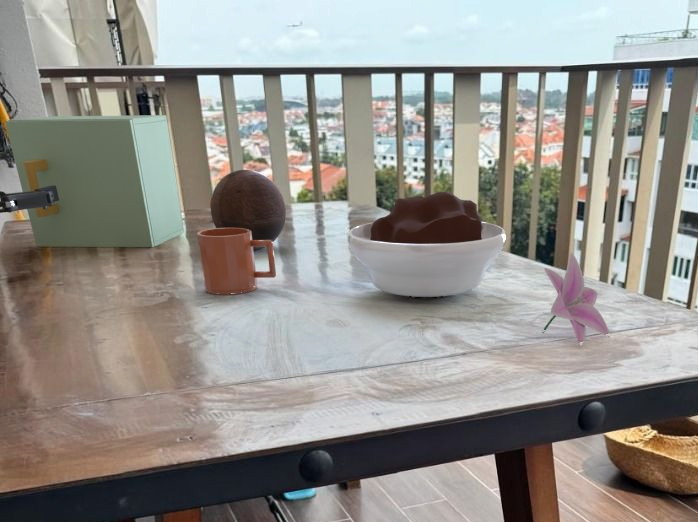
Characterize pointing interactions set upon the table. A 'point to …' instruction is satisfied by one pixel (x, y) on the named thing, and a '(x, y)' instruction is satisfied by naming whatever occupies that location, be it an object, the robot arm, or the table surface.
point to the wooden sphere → (249, 205)
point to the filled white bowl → (427, 246)
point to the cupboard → (150, 171)
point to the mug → (231, 260)
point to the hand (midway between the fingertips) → (22, 192)
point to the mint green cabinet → (83, 182)
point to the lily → (575, 301)
